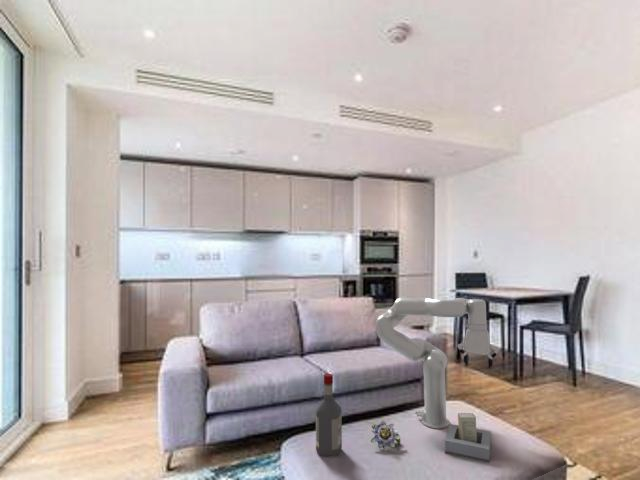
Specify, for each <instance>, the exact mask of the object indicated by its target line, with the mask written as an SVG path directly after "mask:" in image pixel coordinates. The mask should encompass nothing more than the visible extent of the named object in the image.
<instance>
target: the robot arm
mask: <svg viewBox="0 0 640 480" xmlns="http://www.w3.org/2000/svg"><path fill="white" fill-rule="evenodd" d="M466 314H467V320H468V321H467V323H465V324H464V327H466V328H467V329H466V331H465V337H464V338H465V341H464V342H461V343H458V344H457V348H458V350H459V352H460V353H461V354H462V356H463V363H464V365H465V366H468V365H469V354H475V355H484V356H487V358H488V360H487V361H488V369H491V368H492V367H494V365H493V363H494V361H493V360H494V358H495V357H496V356H497V355H498V353H499V352H500V349H499V348H498V347H496V346H495V345H493V344H491V339H490V333H489V331H488V330H487V302H486V301H485V300H484V299H479V298H472V299H469V298H464V297H456V298H453V299H449V300H448V299H446V300H443V299H433V298H431V297H428V296H426V297H425V296H420V297H419V296H418V297H417V296H416V297H412V296H409V295H403V296H400V297H398V298H396V300H394V303H393V305H392V306H391V307H390V308H389V309H388V310H387V311H386V312H384V313H382V314H380V315H379V316H377V318H376V320H375V332H376V334H377V336H378V338H379V339H380V340H381V342H383V343H384V344H385V345H387V346H388V347H390V348H392V349H393V350H395V351H396V352H398V353H400V354H401V355H402V356H404V357H405V358H407V359H408V360H410V361H411V362H418V361H420V360H421V361H422V362H423V364H422V370H423V371H422V372H423V388H424V393H423V394H424V395H423V396H424V410H417V409H416V410H415V414H416V417H419V418H420V417H421V423H422V424H423V426H426V427H428V428H430V429H431V428H432V429H436V430H437V429H439V430H440V429H441V430H442V429H446V428H449V426H450V424H451V421H450V420H449V419H448V418H447V395H446V394H447V393H446V392H447V391H446V374H445V373H446V367H447V365H448V357H447V355H446V353H445V352H444V351H442V350H441V349H440V348H438V347H437V346H436V345H435V346H434V345H433V344H432V343H429V342H428V341H427V340H425V339H423V338H421V337H412V338H410V337H408V336H406V335H405V334H403V332H400V331H398V330H396V329H395V327H397V326H398V325H399V324H401V322H402V321H403V320H404V319H406V317H407V316H426V317H427V316H429V317H439V318H459V317H460V318H461V317H462V316H464V315H466ZM463 347H464V349H463ZM491 349H492V350H493V351H494V352H493V353H491Z"/></svg>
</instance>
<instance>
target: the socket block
mask: <svg viewBox="0 0 640 480" xmlns="http://www.w3.org/2000/svg"><path fill="white" fill-rule="evenodd" d="M476 431H477V443H474V442H469V441H464V440H459V426H458V424H452V423H450V425H449V426H448V430H447V432H446V436H445V439H444V454H447V455H452V456H457V457H462V458H466V459H469V460H475V461H479V462H485V463H489V464H490V461H491V460H490V459H491V451H492V450H491V449H492V432H491V430H487V429H486V430H485V429H481V428H476ZM490 450H491V451H490Z"/></svg>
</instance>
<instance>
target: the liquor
mask: <svg viewBox="0 0 640 480" xmlns="http://www.w3.org/2000/svg"><path fill="white" fill-rule="evenodd" d="M333 385H334V374H333V373H325V374H323V387H324V389H323V391H324V392H323V393H324V394H323V396H324V397H323V400H322V401H321V402H320V404H319V405H317V407H316V410H315V451H316V452H317V454H318V455H319V456H324V457H329V458H333V457H337V456H338V455H339V453H340V451H341V450H342V443H343V439H342V437H343V435H342V434H343V433H342V432H343V431H342V428H343V427H342V421H343V420H342V419H343V418H342V407H341V405H340V404H339V403H338V402H337V401H336V400H335V399H334V394H333V393H334V391H333V390H334V389H333Z"/></svg>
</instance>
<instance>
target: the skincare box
mask: <svg viewBox="0 0 640 480" xmlns="http://www.w3.org/2000/svg"><path fill="white" fill-rule="evenodd" d="M457 423H458V424H457V425H458V426H459V440H464V441H469V442H474V443H477V431H476V429H477V417H476V415H475V414H474V412H473V413H472V412H457Z"/></svg>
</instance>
